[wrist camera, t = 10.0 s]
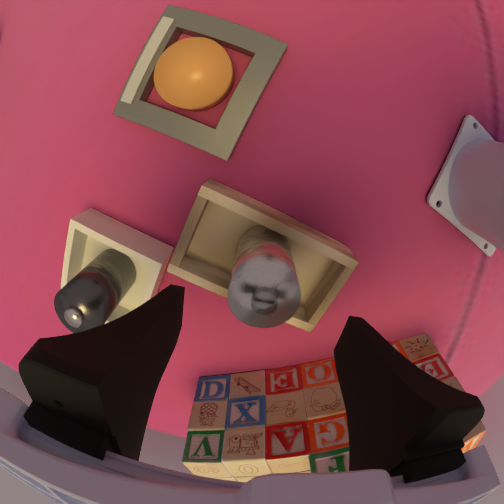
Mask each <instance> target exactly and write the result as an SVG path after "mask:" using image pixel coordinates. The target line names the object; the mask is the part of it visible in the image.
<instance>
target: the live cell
mask: <svg viewBox="0 0 504 504" xmlns="http://www.w3.org/2000/svg"><path fill="white" fill-rule="evenodd" d="M227 298H228V304H229V307H230V309H231V311H232V312H233V314H234V315H235V316H236V317H237V318H238V319H239V320H241V321H242V322H244V323H245V324H248V325H250V326H254V327H259V328H269V327H274V326H278V325H281V324H283V323H285V322H286V321H288V320H289V319H290V318H291V317H292V316H293V315H294V314H295V313H296V312H297V310H298V308H299V306H300V302H301V289H300V285H299V281H298V277H297V273H296V269H295V265H294V261H293V257H292V253H291V249H290V245H289V241H288V239H287V237H286V236H284V235H282V234H280V233H278V232H276V231H274V230H271V229H269V228H267V227H265V226H263V225H261V224H260V225H255V226H253V227H250V228H249V229H247V230H246V231H245V232H244V233H243V234H242V235H241V237H240V239H239V241H238V244H237V249H236V254H235V259H234V264H233V269H232V274H231V279H230V284H229V289H228V296H227Z"/></svg>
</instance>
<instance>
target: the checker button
mask: <svg viewBox="0 0 504 504" xmlns="http://www.w3.org/2000/svg"><path fill="white" fill-rule="evenodd" d="M233 83H234V68H233V65H232V63H231V60H230V58H229V56H228V54H227V52H226V51H225V49H224V48H223V47H222V46H221V45H220V44H218V43H217V42H215V41H213V40H211V39H208V38H204V37H190V38H185V39H182V40H180V41H177V42H175V43H174V44H172V45H171V46H169V47H168V48H167V49H166V50H165V51H164V52H163V53H162V55H161V56H160V57H159V59H158V61H157V63H156V66H155V69H154V84H155V87H156V90H157V92H158V93H159V95H160V96H161V97H162V98H163V99H164V100H165V101H166V102H168V103H169V104H171V105H173V106H176V107H179V108H183V109H186V110H190V111H202V110H206V109H210V108H212V107H214V106H216V105H218V104H219V103H220V102H222V101H223V100H224V99H225V98H226V97H227V95H228V94H229V92H230V91H231V89H232V86H233Z"/></svg>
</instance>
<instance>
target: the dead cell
mask: <svg viewBox="0 0 504 504" xmlns="http://www.w3.org/2000/svg"><path fill="white" fill-rule="evenodd" d="M135 280H136V268H135V265H134V263H133V261H132V260H131V259H130V257H129V256H128V255H126V254H124V253H122V252H120V251H118V250H116V249H107V250H104V251H103V252H102V253H100V254H99V255H98V256H97V257H96V258H95V259H94V260H92V261H91V262H90V263H89V264H88V265H87V266H86V267H85V268H83V269H82V270H81V271H80V272H79V273H78V274H77V275H76V276H75V277H74V278H72V279H71V280H70V281H69V282H68V283H67V284H66V285H65V286H64V287H63V288H62V289H61V290H60V291H59V292H58V293H57V294H56V296H55V299H54V305H55V310H56V313H57V315H58V317H59V319H60V320H61V322H62V323H63V324H64V325H65V326H66V327H67V328H68V329H69V330H70V331H71V332H73V333H78V332H82V331H85V330H89V329H91V328H94V327H97V326H100V325H103V324H105V322H106V321H107V319H108V318H109V317H110V315H111V314H112V312H113V311H114V310H115V308H116V307H117V306H118V304H119V303H120V301H121V300H122V299H123V297H124V296H125V295H126V293H127V292H128V291H129V289H130V288H131V287H132V285H133V284H134V282H135Z"/></svg>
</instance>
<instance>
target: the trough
mask: <svg viewBox="0 0 504 504" xmlns="http://www.w3.org/2000/svg"><path fill="white" fill-rule="evenodd" d="M260 224H261V225H263V226H265V227H267V228H269V229H271V230H274V231H276V232H278V233H280V234H282V235H284V236H286V237H287V239H288V241H289V245H290V249H291V253H292V257H293V261H294V265H295V269H296V273H297V277H298V281H299V285H300V289H301V302H300V306H299V308H298V310H297V312H296V313H295V314H294V315H293V316H292V317H291V318H290V319H289V320H288V321H286V322H285V323H288V324H290V325H293V326H296V327H298V328H301V329H303V330H306V331H308V332H311V331H312V329H313V328H314V327H315V325H316V324H317V322H318V321H319V320H320V318H321V317H322V316H323V314H324V313H325V311H326V310H327V309H328V307H329V306H330V304H331V303H332V302H333V300H334V299H335V297H336V296H337V294H338V293H339V291H340V290H341V288H342V287H343V286H344V284H345V283H346V281H347V280H348V278H349V277H350V275H351V274H352V272H353V271H354V269H355V267H356V266H357V264H358V263H359V261H358V260H357V259H356V257H355V256H354V254H353V253H352V252H351V250H350V249H349V247H348V246H346V245H344V244H342V243H341V242H339V241H337V240H335V239H333V238H331V237H329V236H327V235H325V234H323V233H322V232H320V231H318V230H316V229H314V228H312V227H310V226H308V225H306V224H304V223H302V222H300V221H298V220H296V219H294V218H292V217H290V216H288V215H286V214H284V213H282V212H280V211H278V210H276V209H274V208H272V207H270V206H268V205H266V204H264V203H262V202H260V201H257V200H255V199H253V198H251V197H249V196H247V195H245V194H243V193H241V192H239V191H236V190H234V189H232V188H230V187H228V186H226V185H223V184H221V183H219V182H217V181H215V180H213V179H210V178H209V179H208V180H207V181H206V182H205V183H204V184H203V185H202V186H201V188H200V190H199V193H198V195H197V197H196V200H195V202H194V204H193V207H192V209H191V211H190V214H189V216H188V218H187V221H186V223H185V226H184V228H183V231H182V233H181V236H180V238H179V240H178V243H177V246H176V248H175V251H174V253H173V256H172V258H171V261H170V264H169V266H168V269H167V272H169V273H171V274H174V275H176V276H178V277H180V278H182V279H184V280H187V281H189V282H191V283H193V284H196V285H198V286H200V287H202V288H204V289H207V290H209V291H211V292H214V293H216V294H218V295H220V296H223V297H225V298H227V296H228V289H229V284H230V279H231V274H232V269H233V264H234V259H235V254H236V249H237V244H238V241H239V239H240V237H241V235H242V234H243V233H244V232H245V231H246V230H247V229H249V228H250V227H253V226H255V225H260ZM227 299H228V298H227Z"/></svg>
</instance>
